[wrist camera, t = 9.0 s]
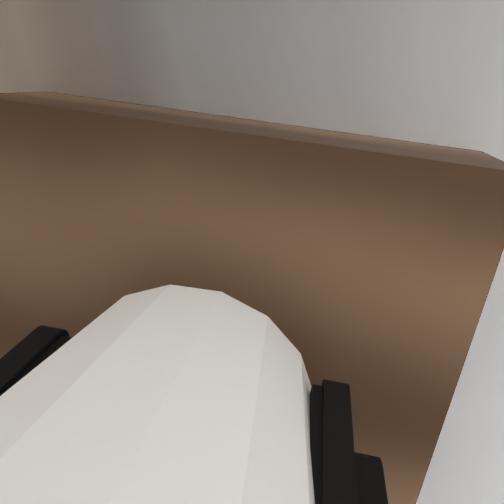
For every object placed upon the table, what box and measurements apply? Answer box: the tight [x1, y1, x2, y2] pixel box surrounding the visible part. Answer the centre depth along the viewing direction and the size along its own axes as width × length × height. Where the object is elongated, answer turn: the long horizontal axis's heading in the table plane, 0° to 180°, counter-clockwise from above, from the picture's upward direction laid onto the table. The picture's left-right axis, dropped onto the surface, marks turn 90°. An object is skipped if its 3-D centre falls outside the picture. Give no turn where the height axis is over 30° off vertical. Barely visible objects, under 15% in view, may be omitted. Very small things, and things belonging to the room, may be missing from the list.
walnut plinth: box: [0, 92, 504, 504], centre depth 13 cm, size 12×12×3 cm
